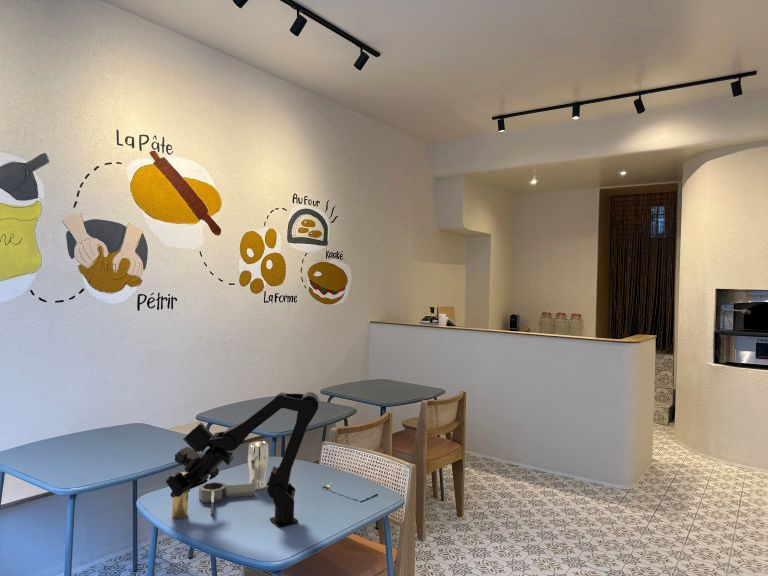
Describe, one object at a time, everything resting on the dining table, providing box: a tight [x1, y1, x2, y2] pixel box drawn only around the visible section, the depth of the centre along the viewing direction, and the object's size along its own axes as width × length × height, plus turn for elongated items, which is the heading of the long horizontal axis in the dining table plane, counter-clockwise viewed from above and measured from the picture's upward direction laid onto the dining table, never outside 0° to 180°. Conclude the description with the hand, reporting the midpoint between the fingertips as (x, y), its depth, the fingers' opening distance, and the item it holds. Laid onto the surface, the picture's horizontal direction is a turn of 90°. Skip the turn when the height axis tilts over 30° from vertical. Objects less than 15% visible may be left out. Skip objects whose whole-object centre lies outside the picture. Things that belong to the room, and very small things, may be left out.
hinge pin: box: [171, 471, 189, 519], centre depth 165 cm, size 4×4×12 cm
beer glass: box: [247, 440, 269, 491], centre depth 191 cm, size 7×7×15 cm
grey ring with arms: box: [198, 481, 256, 516], centre depth 178 cm, size 17×18×4 cm
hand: (176, 493), depth 165 cm, fingers closed on hinge pin, 4 cm apart
